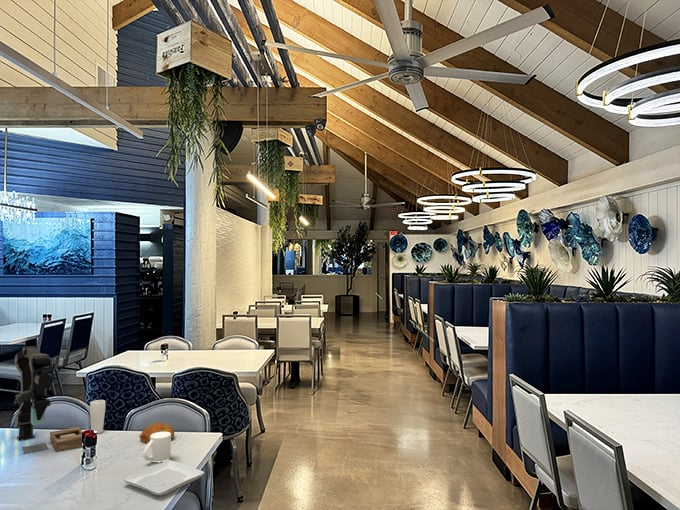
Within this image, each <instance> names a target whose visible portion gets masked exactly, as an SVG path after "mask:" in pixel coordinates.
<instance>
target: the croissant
mask: <svg viewBox="0 0 680 510" xmlns="http://www.w3.org/2000/svg"><path fill="white" fill-rule="evenodd" d="M156 432H170V433H171V438H172V439H174V437H175V430H174V428H173V427H172V426H170V425H169V424H167V423H161V422H154V423H152V424H150V425H148V426H147V427H146V428H144V429H143V430H142V431H141V432H140V434H139V436H138V437H139V439H140V441H141V442H142V443H145V442H148V443H149V442H150V436H151V435H152V434H153V433H156ZM148 443H147V444H148Z"/></svg>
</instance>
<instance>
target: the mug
mask: <svg viewBox="0 0 680 510" xmlns="http://www.w3.org/2000/svg"><path fill="white" fill-rule="evenodd" d="M171 448H172V439H171V433H170V432H156V433H153V434H152V435H151V436H150V442H149V443H146V446H145V447H144V449H143V452H142V457H143V459H144V460H145V461H149V462H150V460H151V461H163V460H167V459H169V458H170V457H171V456H172V455H171V454H172V453H171V452H172V449H171ZM148 451H149V456H148ZM170 459H171V458H170Z"/></svg>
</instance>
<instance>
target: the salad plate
mask: <svg viewBox="0 0 680 510" xmlns="http://www.w3.org/2000/svg"><path fill="white" fill-rule="evenodd" d="M166 469H171V470H175V471H179V472H181V473H184V474H186V475H187V477H186V478H184V481H183V482H181V483H179V484H177V485H175V486H173V487H171V488H169V489H167V490H165V491H163V492H155V491H153V490H151V489H149V488H147V487H144V486H142V485H140V484H137V483H136V482H137V481H139V480H141V479H143V478H144V477H147V476H151V475H155V474H157V473H159V472H161V471H163V470H166ZM204 474H205V471H203V470H200V469H197V468H195V467H192V466H188V465H186V464H183V463H180V462H177V461H175V460H171V459H170V460H168V461H165V462H162V463H157V464H155V465H152V466H151V467H147V468H145V469H143V470H140V471H138V472H136V473H133V474H131V475H129V476H126V477H124V478H123V479H122V480H123V481H124V482H125V483H126V484H128V485H130V486H133V487H135V488H138V489H140V488H141V490H143V489H144V490H143V491H145V490H146V492H148V491H149V492H148V493H150V492H151V494H153V495H155V496H157V495H161V496H164V495H166V493H167V494H168V492H169V493H170V491H171V492H173V491H175V490H177V489H179V488H181V486H182V487H184V486H186V485H187V484H190V483H192V482H195V481H196V480H198V479H200V478H201V477H202V476H203V475H204ZM178 487H179V488H178ZM176 488H177V489H176ZM174 489H175V490H174ZM172 490H173V491H172ZM163 494H164V495H163Z"/></svg>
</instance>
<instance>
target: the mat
mask: <svg viewBox="0 0 680 510" xmlns="http://www.w3.org/2000/svg"><path fill="white" fill-rule="evenodd" d="M21 449H22V453H23V454H24V455H25V454H26V455H27V454H31V452H32V453H36V452H43V451H47V450H49V446H48V445H47V443H46V442H41V443H37V444H31V445H25V446H22V447H21Z"/></svg>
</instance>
